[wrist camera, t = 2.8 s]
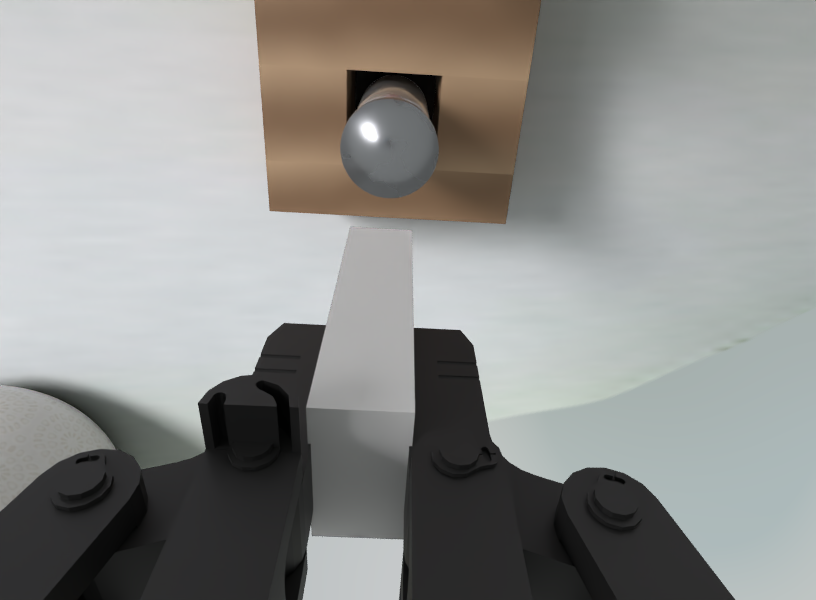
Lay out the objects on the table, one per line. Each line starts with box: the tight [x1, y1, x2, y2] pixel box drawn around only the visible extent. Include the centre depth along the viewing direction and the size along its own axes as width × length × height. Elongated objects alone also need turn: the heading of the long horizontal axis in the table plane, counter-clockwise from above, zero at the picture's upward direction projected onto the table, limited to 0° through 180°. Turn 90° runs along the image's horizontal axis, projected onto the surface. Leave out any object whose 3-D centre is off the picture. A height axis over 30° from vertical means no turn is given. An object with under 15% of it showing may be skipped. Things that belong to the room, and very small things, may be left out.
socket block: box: [254, 0, 541, 224], centre depth 29 cm, size 22×14×6 cm, turn 177°
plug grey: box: [340, 75, 439, 198], centre depth 28 cm, size 4×4×9 cm
